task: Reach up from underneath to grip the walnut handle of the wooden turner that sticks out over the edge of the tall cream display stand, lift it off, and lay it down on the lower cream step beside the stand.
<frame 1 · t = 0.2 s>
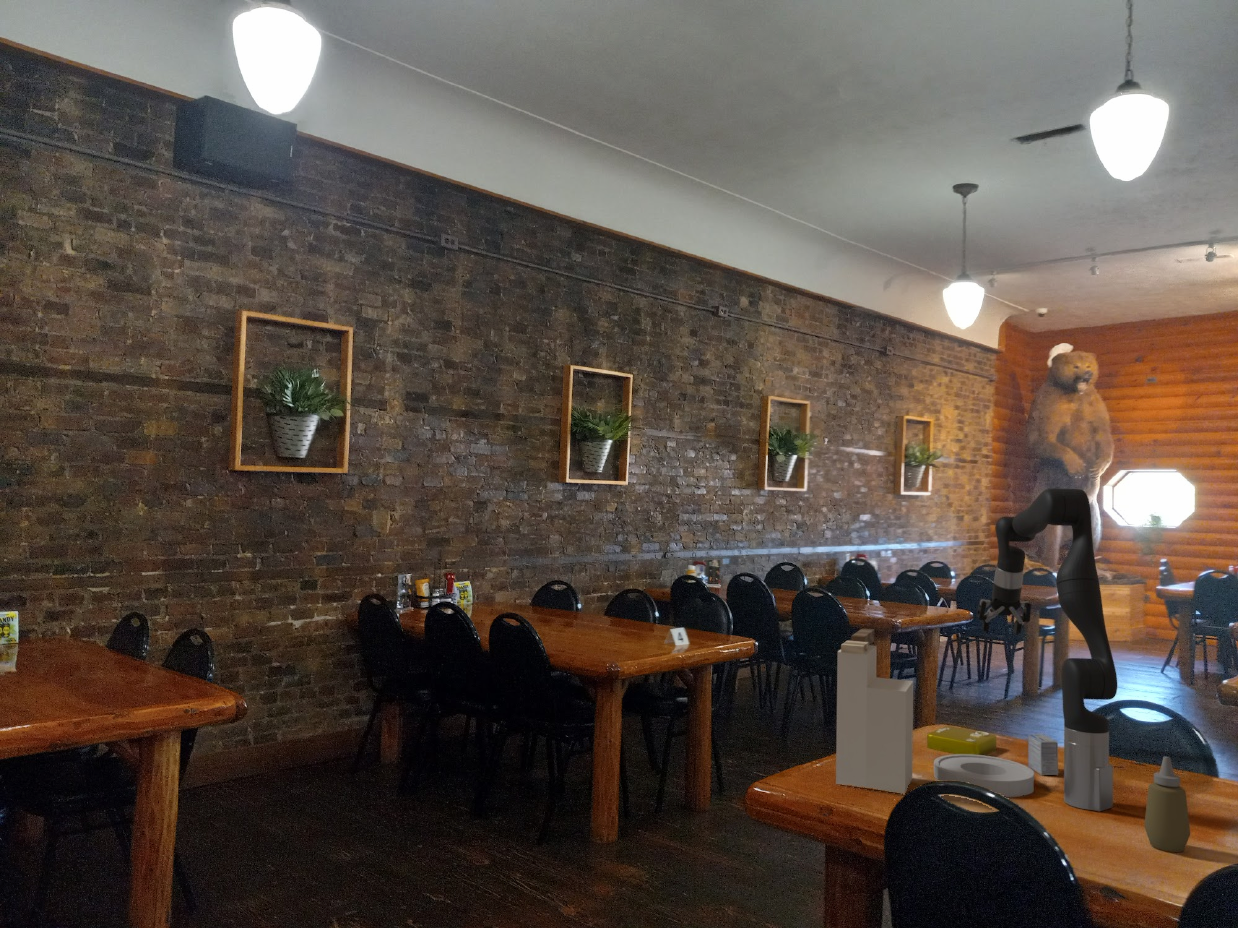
hand: (1000, 632, 269), 31 cm above the table, tool tilted 20°, fingers open, 8 cm apart
squeeze bottle: (1167, 848, 185), on the table
turner: (859, 646, 231), point 32 cm above the table, touching display stand
display stand: (870, 780, 226), on the table
element tile: (961, 750, 259), on the table
medicine box: (1042, 772, 237), on the table
ashtray: (983, 784, 227), on the table
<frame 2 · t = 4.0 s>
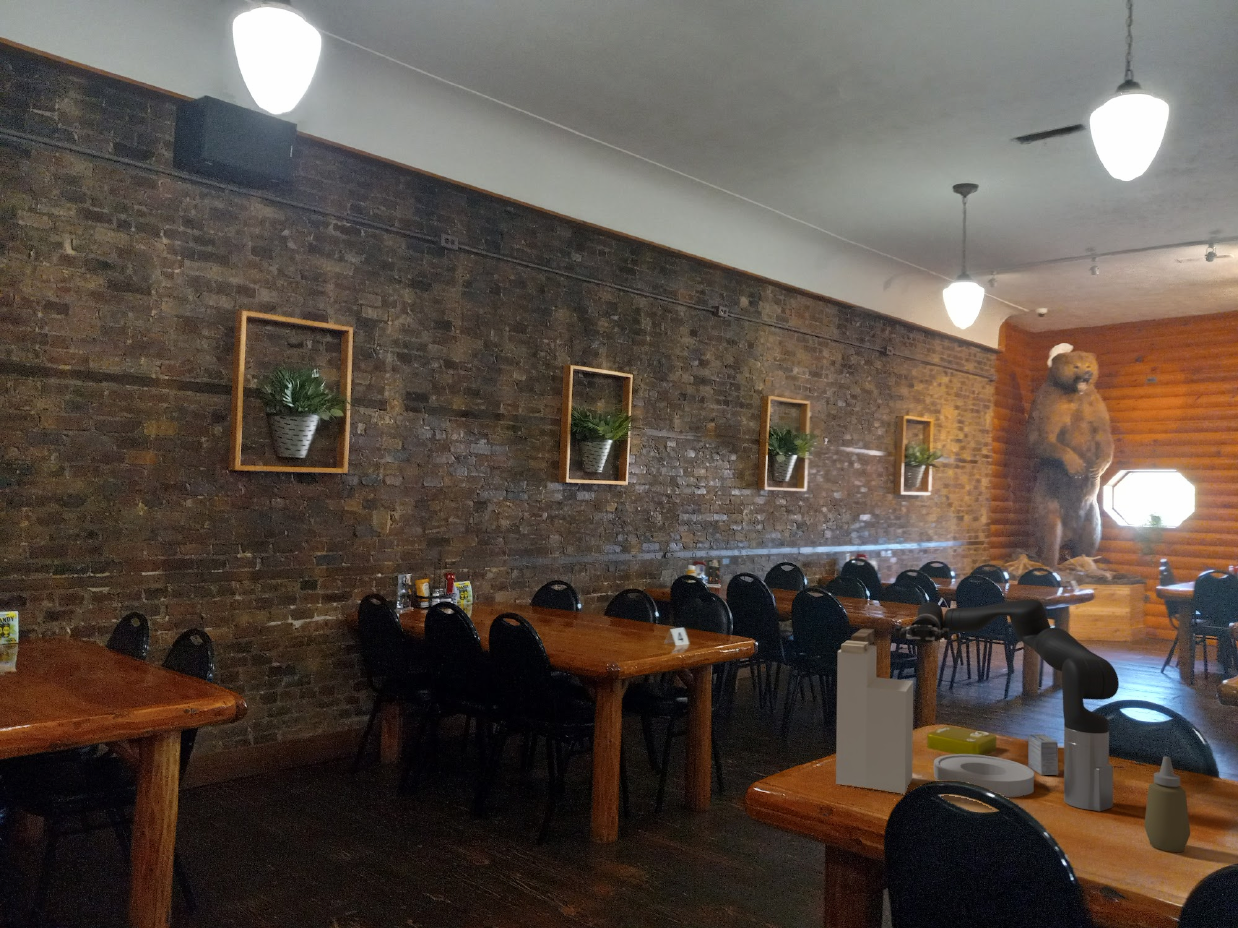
hand: (919, 636, 249), 32 cm above the table, tool horizontal, fingers open, 8 cm apart
nothing on the table moved.
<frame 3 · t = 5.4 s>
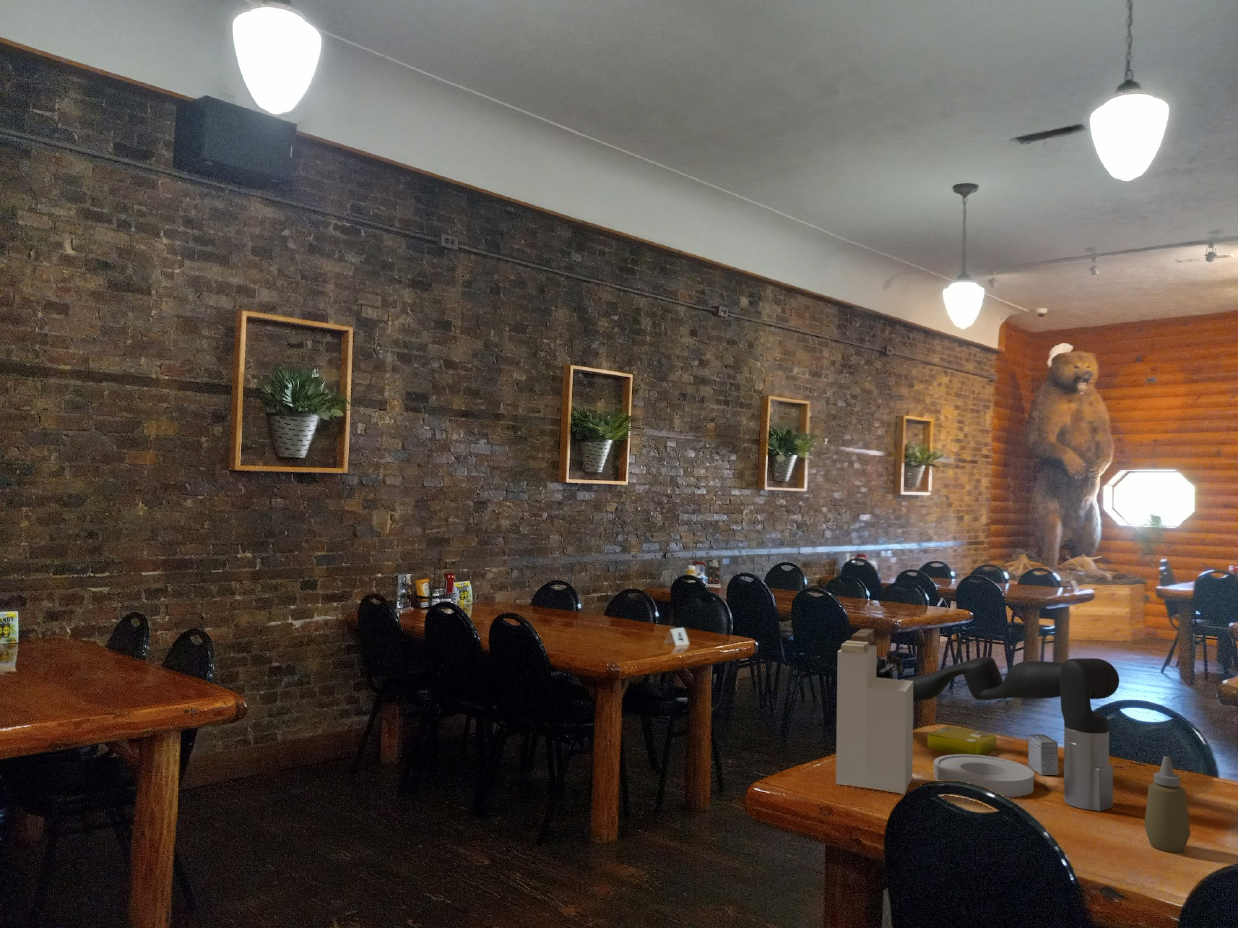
hand: (871, 653, 250), 28 cm above the table, tool pointing upward, fingers open, 8 cm apart
nothing on the table moved.
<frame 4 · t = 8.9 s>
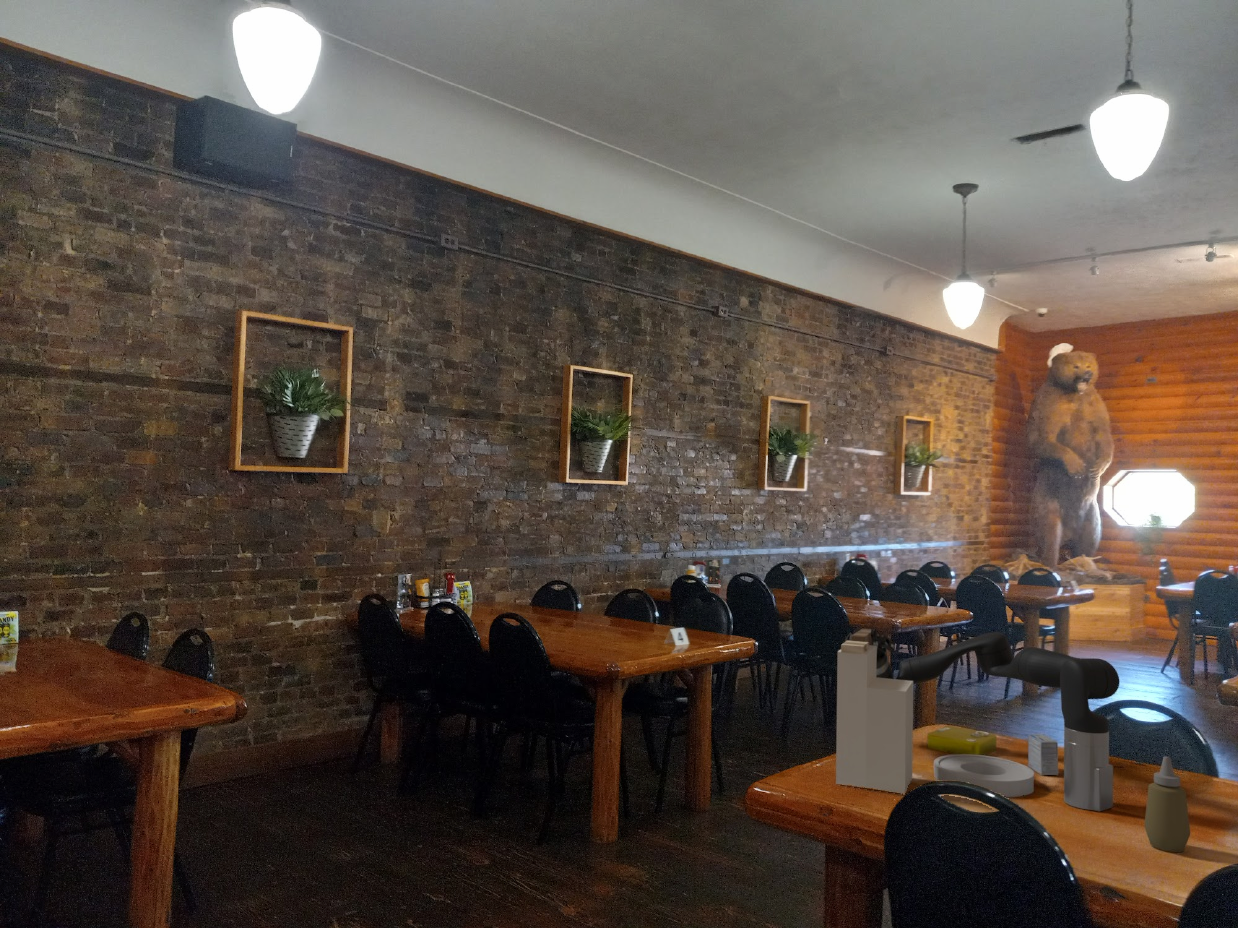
hand: (864, 631, 238), 35 cm above the table, tool pointing upward, fingers closed on turner, 3 cm apart
turner: (859, 646, 231), point 32 cm above the table, touching display stand, gripper
everything else where it was.
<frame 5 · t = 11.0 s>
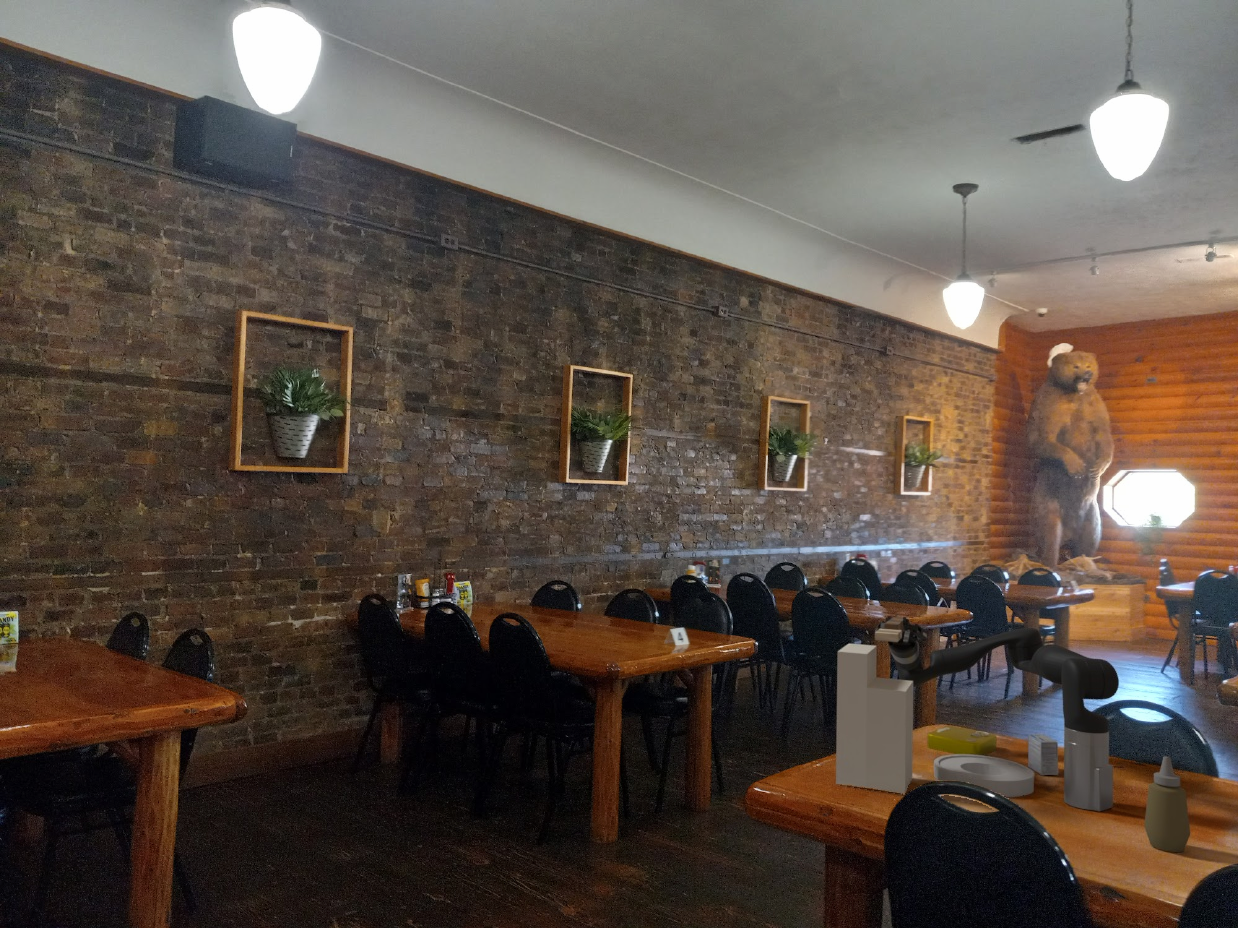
hand: (896, 619, 235), 39 cm above the table, tool pointing upward, fingers closed on turner, 3 cm apart
turner: (892, 635, 228), point 36 cm above the table, touching gripper
everything else where it was.
when the fingers open (29 cm above the table, at t = 13.5 s): turner drops 2 cm, resting on display stand.
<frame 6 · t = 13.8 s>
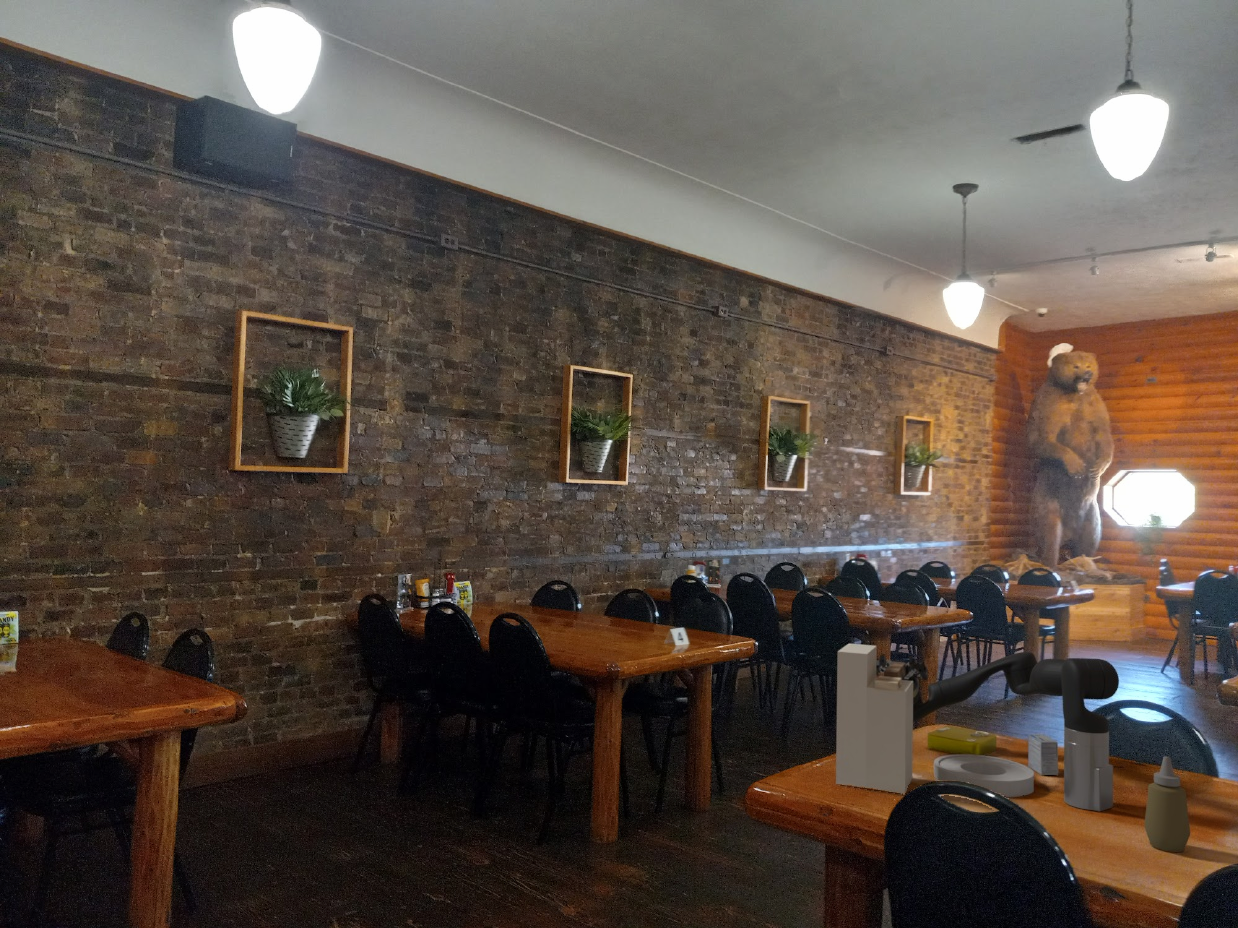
hand: (896, 658, 235), 29 cm above the table, tool pointing upward, fingers open, 6 cm apart
turner: (892, 681, 228), point 24 cm above the table, touching display stand
everything else where it was.
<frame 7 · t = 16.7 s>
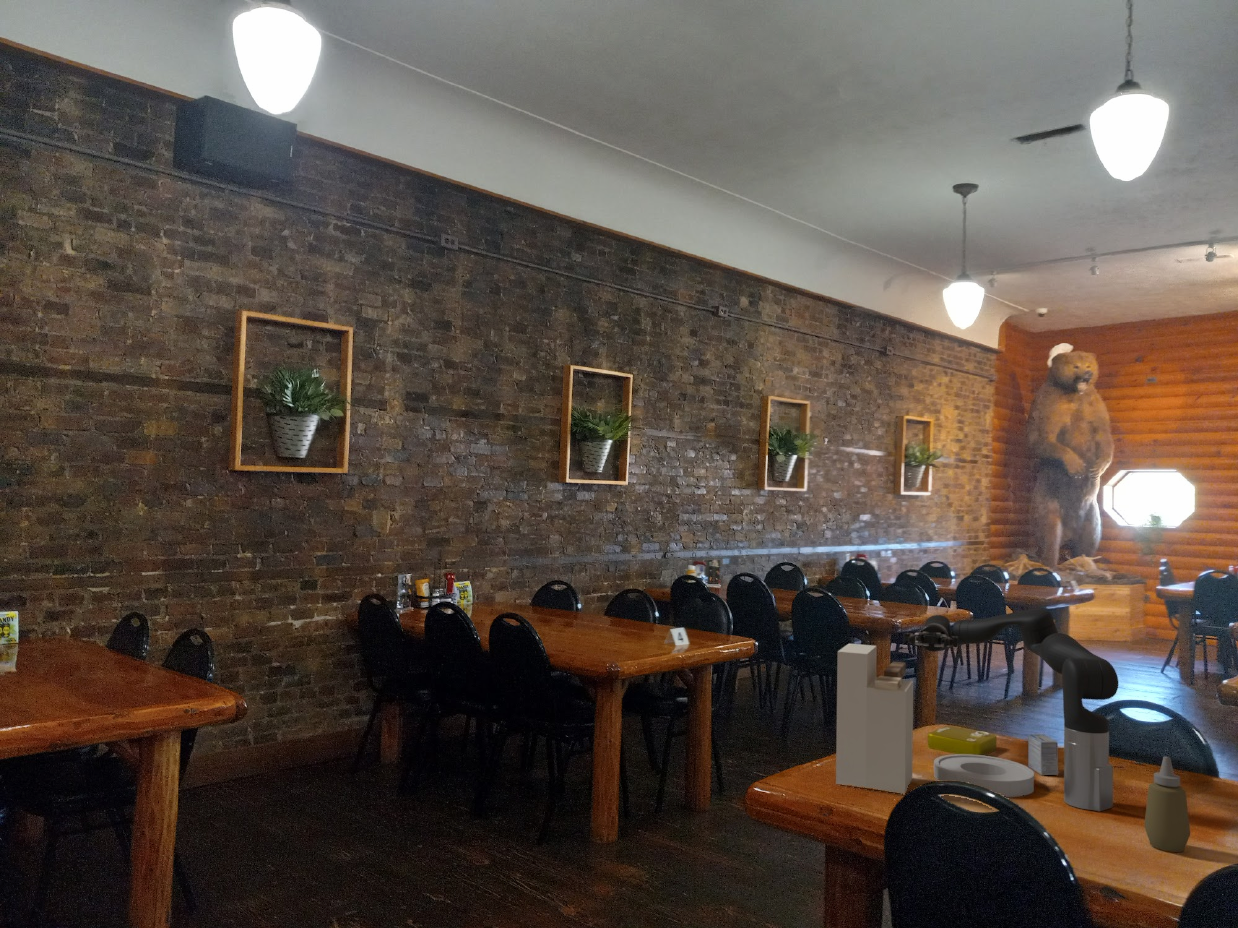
hand: (928, 641, 249), 31 cm above the table, tool horizontal, fingers open, 8 cm apart
nothing on the table moved.
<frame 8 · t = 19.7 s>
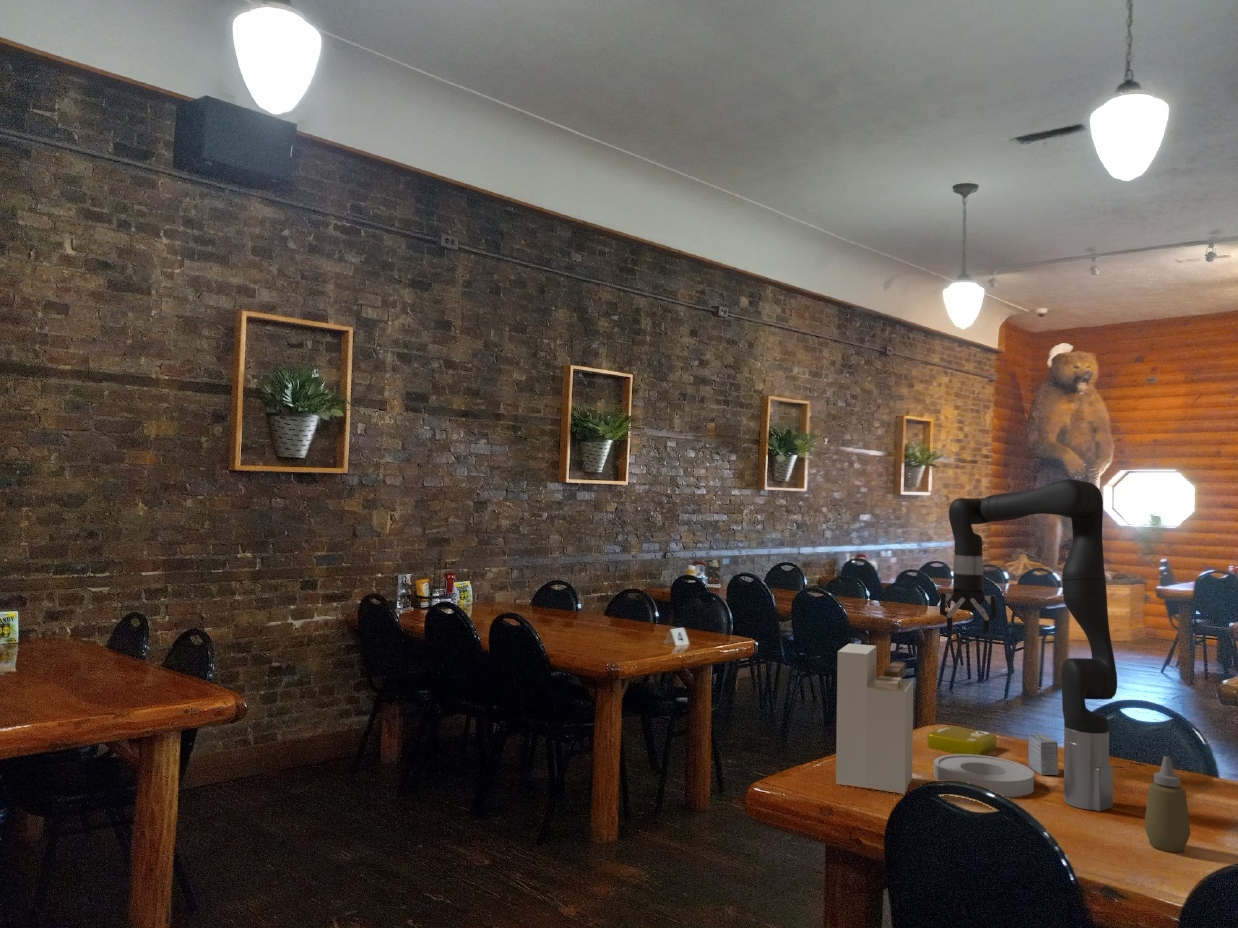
hand: (967, 632, 246), 34 cm above the table, tool pointing down, fingers open, 8 cm apart
nothing on the table moved.
at the end: turner inside the target area (0.3 cm from its centre), point 24.0 cm above the table; the gripper is holding nothing; turner moved 11.3 cm from its start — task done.
